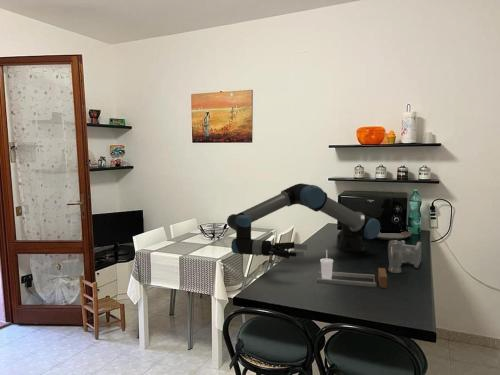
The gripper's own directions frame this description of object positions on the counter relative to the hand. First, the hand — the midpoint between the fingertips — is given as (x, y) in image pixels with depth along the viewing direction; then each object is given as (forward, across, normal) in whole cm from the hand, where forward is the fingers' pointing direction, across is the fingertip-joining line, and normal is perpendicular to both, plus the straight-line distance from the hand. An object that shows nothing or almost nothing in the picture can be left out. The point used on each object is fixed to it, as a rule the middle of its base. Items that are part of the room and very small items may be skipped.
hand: (305, 250), depth 175 cm
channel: (+21, 0, -13) cm, 25 cm away
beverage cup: (+10, 0, -13) cm, 17 cm away
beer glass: (+42, -18, -13) cm, 48 cm away
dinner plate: (+46, -92, -12) cm, 103 cm away
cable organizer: (+50, -31, -13) cm, 60 cm away
